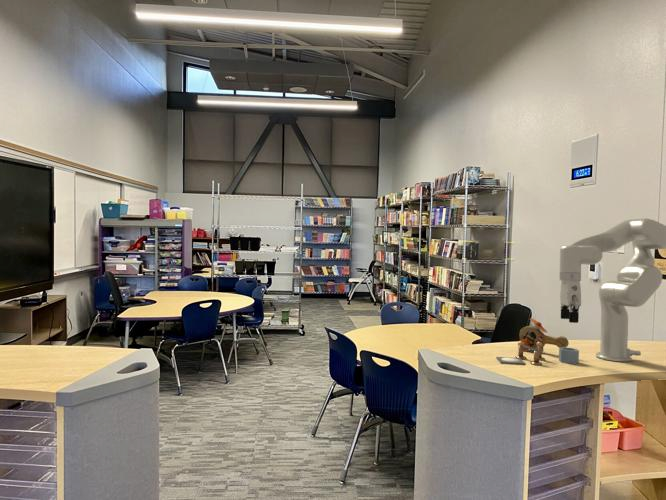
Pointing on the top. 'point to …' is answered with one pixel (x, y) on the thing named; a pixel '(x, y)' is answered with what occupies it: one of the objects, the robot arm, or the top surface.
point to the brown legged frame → (536, 352)
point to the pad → (510, 360)
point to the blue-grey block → (568, 355)
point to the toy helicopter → (539, 337)
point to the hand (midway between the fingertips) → (569, 320)
